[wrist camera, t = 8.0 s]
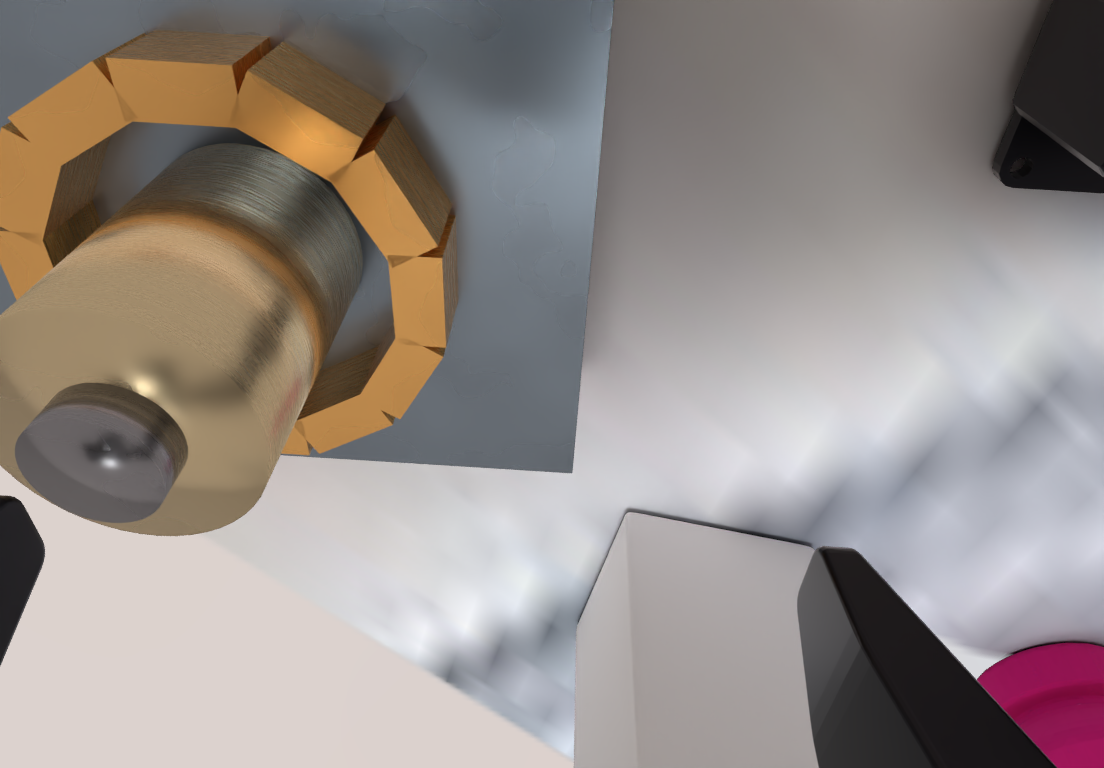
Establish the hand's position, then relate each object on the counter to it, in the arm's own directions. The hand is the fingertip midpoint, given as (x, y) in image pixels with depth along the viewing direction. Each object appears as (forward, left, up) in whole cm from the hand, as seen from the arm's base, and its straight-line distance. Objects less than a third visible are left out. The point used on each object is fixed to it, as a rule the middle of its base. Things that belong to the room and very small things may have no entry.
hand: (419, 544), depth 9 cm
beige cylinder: (+5, +1, -8) cm, 10 cm away
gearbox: (+6, +1, -13) cm, 15 cm away
